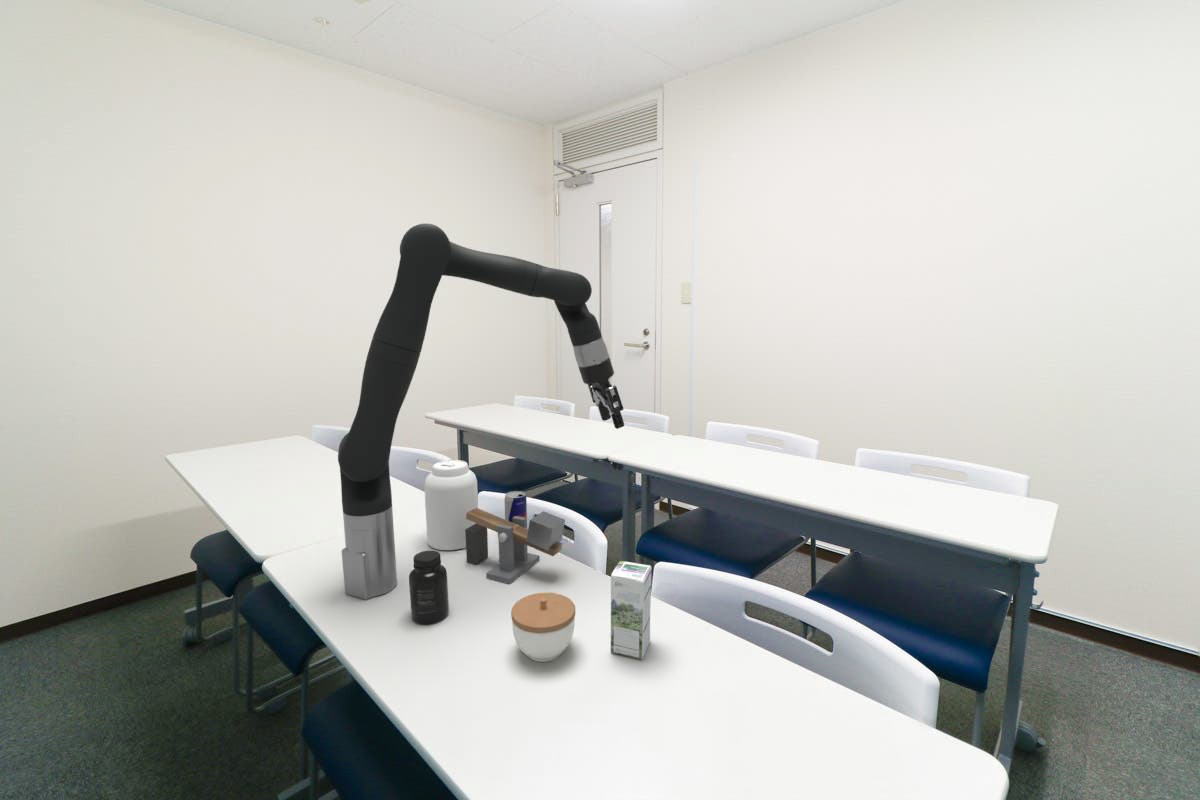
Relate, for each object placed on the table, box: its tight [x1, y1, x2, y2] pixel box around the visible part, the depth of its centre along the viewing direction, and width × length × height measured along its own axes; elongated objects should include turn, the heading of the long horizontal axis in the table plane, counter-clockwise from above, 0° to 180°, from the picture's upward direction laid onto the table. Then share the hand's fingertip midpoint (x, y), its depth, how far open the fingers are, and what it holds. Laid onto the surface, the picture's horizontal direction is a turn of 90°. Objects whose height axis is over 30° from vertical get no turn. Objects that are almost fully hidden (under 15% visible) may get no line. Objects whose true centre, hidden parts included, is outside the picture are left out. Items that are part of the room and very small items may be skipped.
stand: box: [465, 516, 541, 585], centre depth 121 cm, size 12×14×11 cm
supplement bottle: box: [408, 549, 450, 625], centre depth 101 cm, size 7×7×12 cm
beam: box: [466, 507, 563, 557], centre depth 119 cm, size 4×23×2 cm, turn 65°
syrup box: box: [610, 560, 652, 660], centre depth 91 cm, size 6×6×14 cm
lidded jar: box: [510, 592, 576, 663], centre depth 91 cm, size 11×11×9 cm
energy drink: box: [504, 490, 528, 523], centre depth 134 cm, size 5×5×12 cm
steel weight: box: [527, 511, 566, 551], centre depth 115 cm, size 6×6×5 cm
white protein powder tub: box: [423, 459, 479, 551], centre depth 133 cm, size 12×12×20 cm
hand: (613, 423), depth 129 cm, fingers open, 8 cm apart
